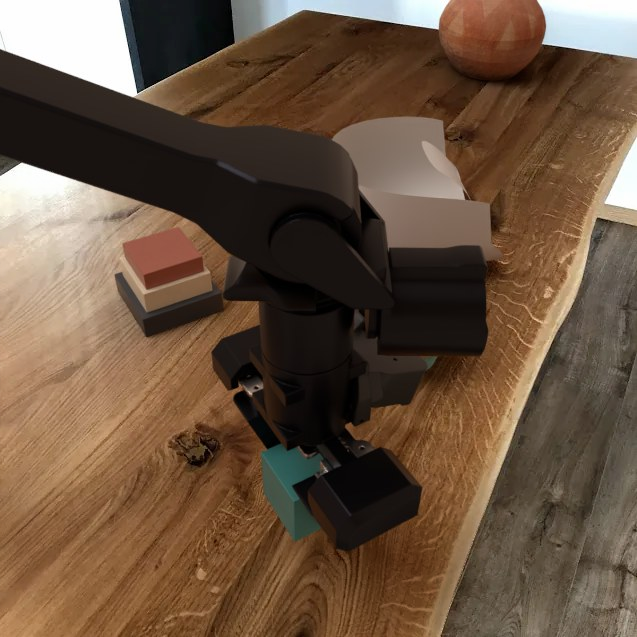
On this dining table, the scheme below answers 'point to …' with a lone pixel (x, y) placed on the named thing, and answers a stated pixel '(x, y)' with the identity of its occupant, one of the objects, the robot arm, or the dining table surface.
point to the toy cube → (289, 487)
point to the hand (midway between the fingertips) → (307, 495)
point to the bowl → (415, 184)
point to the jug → (491, 36)
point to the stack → (166, 282)
